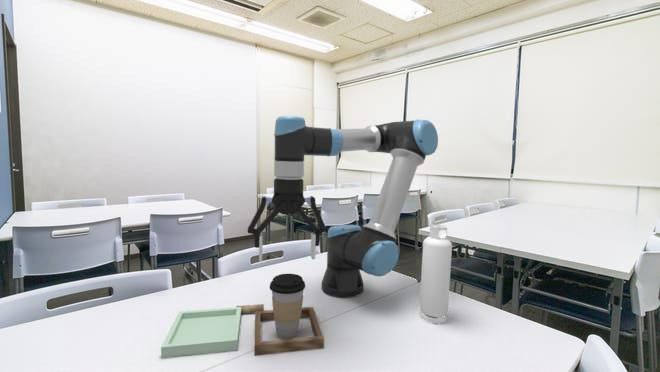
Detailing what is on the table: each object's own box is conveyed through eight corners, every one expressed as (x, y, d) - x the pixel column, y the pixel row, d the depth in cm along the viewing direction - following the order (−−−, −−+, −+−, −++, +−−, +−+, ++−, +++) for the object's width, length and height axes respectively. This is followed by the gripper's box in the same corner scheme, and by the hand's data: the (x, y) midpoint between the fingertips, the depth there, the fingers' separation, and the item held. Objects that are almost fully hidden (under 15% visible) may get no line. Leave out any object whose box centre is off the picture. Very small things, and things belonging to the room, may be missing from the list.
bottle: (436, 309, 101) (441, 222, 98) (453, 322, 93) (459, 228, 91) (413, 312, 99) (418, 223, 96) (429, 325, 91) (434, 229, 88)
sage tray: (241, 315, 94) (241, 306, 94) (237, 350, 78) (237, 340, 77) (179, 320, 90) (179, 311, 90) (161, 357, 74) (161, 347, 74)
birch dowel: (263, 302, 97) (263, 308, 95) (263, 308, 98) (263, 314, 96) (236, 304, 96) (235, 310, 93) (236, 310, 97) (236, 316, 94)
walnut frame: (312, 314, 96) (312, 306, 95) (323, 348, 79) (323, 338, 79) (255, 319, 92) (255, 311, 92) (254, 355, 76) (254, 345, 75)
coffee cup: (298, 345, 80) (299, 288, 79) (263, 340, 82) (263, 284, 80) (308, 325, 89) (309, 274, 88) (276, 321, 91) (277, 270, 90)
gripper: (333, 177, 88) (330, 252, 90) (239, 176, 82) (238, 255, 84) (339, 179, 80) (336, 261, 82) (237, 178, 75) (236, 265, 77)
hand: (287, 258), depth 83 cm, fingers open, 13 cm apart
